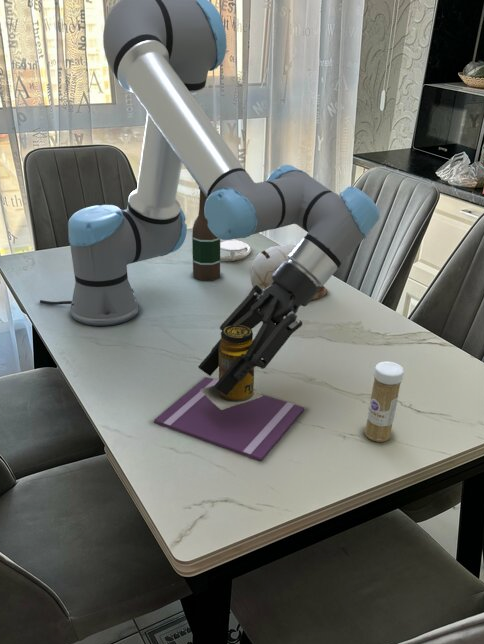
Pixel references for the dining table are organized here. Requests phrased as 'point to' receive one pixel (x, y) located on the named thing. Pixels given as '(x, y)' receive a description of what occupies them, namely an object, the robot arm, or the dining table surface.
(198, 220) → the beer bottle
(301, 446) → the dining table surface
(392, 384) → the sprinkles bottle
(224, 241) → the white rounded slab
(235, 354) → the condiment
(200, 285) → the dining table surface
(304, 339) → the dining table surface
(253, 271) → the coin bank
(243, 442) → the towel
